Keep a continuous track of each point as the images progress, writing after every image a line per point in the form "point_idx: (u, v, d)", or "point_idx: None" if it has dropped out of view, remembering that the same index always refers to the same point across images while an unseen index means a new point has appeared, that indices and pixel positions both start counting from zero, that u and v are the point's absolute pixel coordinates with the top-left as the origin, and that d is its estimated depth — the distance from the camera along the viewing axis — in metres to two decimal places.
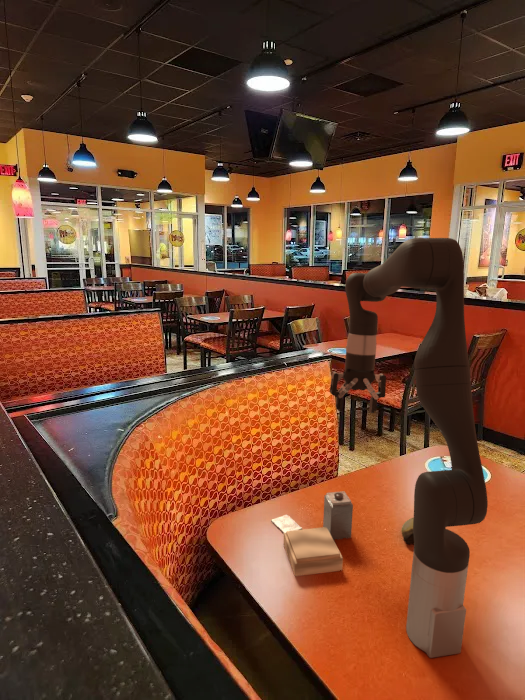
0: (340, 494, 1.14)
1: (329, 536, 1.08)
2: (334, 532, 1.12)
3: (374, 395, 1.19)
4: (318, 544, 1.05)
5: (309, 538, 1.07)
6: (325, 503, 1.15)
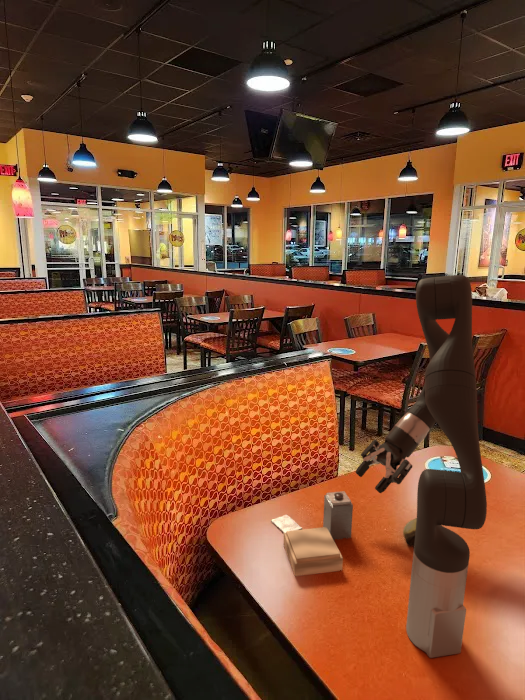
0: (340, 494, 1.14)
1: (329, 536, 1.08)
2: (334, 532, 1.12)
3: (387, 473, 1.12)
4: (318, 544, 1.05)
5: (309, 538, 1.07)
6: (325, 503, 1.15)
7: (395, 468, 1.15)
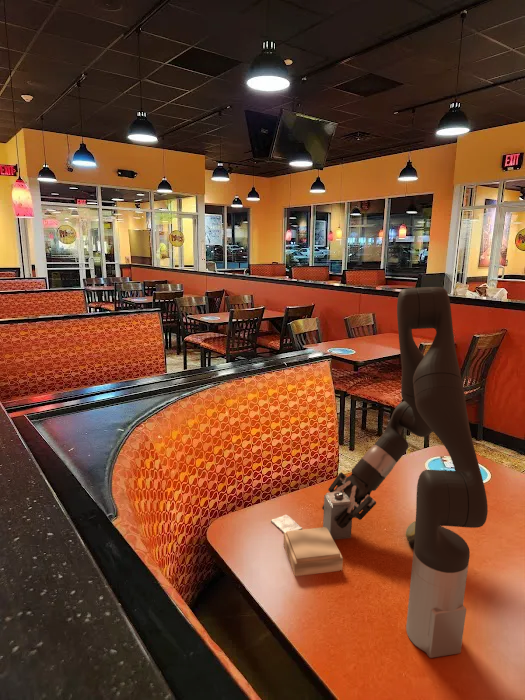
0: (340, 494, 1.14)
1: (329, 536, 1.08)
2: (334, 532, 1.12)
3: (349, 508, 1.11)
4: (318, 544, 1.05)
5: (309, 538, 1.07)
6: (325, 502, 1.15)
7: (359, 502, 1.13)
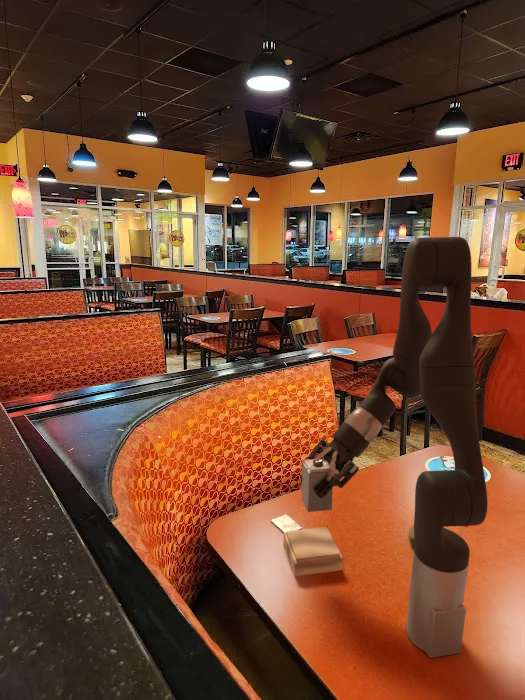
0: (319, 461, 1.02)
1: (329, 536, 1.08)
2: (312, 502, 1.00)
3: (329, 475, 0.99)
4: (318, 544, 1.05)
5: (309, 538, 1.07)
6: (303, 471, 1.03)
7: (341, 470, 1.01)
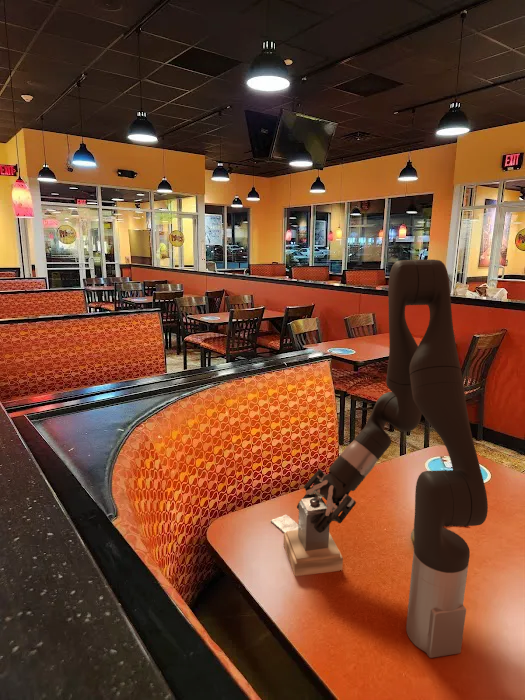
0: (316, 500, 1.03)
1: (329, 536, 1.08)
2: (309, 542, 1.02)
3: (327, 510, 1.00)
4: None
5: None
6: (300, 510, 1.05)
7: (338, 504, 1.02)
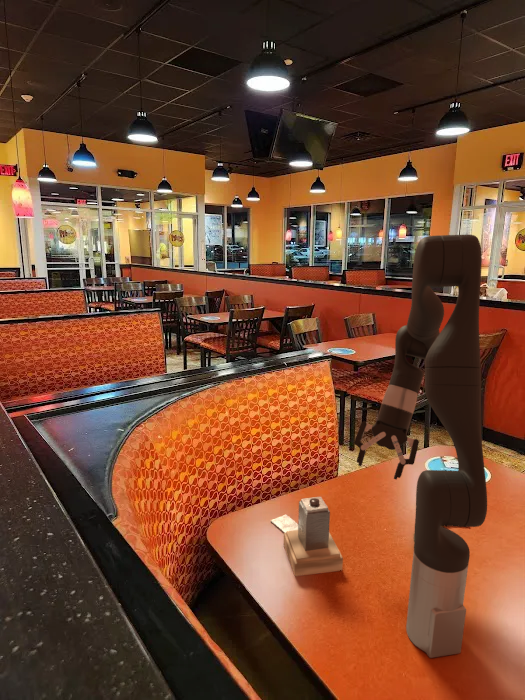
0: (316, 500, 1.04)
1: (329, 536, 1.08)
2: (309, 542, 1.02)
3: (401, 459, 1.06)
4: None
5: None
6: (300, 510, 1.05)
7: None
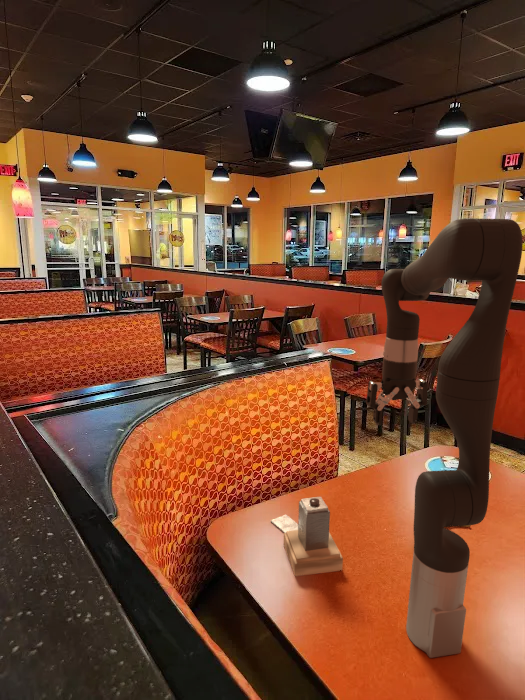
0: (316, 500, 1.04)
1: (329, 536, 1.08)
2: (309, 542, 1.02)
3: (415, 404, 1.07)
4: None
5: None
6: (300, 510, 1.05)
7: None
